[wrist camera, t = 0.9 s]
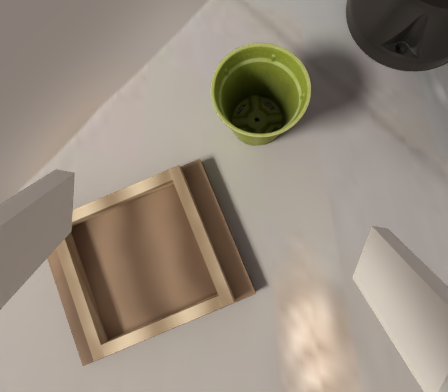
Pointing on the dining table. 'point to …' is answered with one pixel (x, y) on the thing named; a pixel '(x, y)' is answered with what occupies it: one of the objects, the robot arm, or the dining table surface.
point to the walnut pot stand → (146, 262)
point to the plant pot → (260, 91)
